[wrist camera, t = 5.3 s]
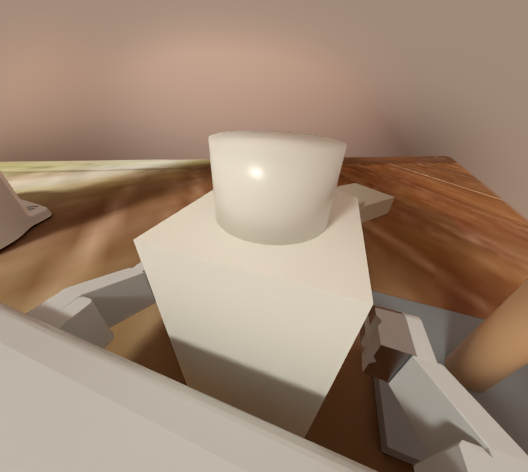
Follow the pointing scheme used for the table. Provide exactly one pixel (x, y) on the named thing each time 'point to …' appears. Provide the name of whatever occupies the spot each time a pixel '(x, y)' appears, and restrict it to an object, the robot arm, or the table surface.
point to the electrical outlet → (367, 200)
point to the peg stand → (465, 368)
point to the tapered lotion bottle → (263, 276)
